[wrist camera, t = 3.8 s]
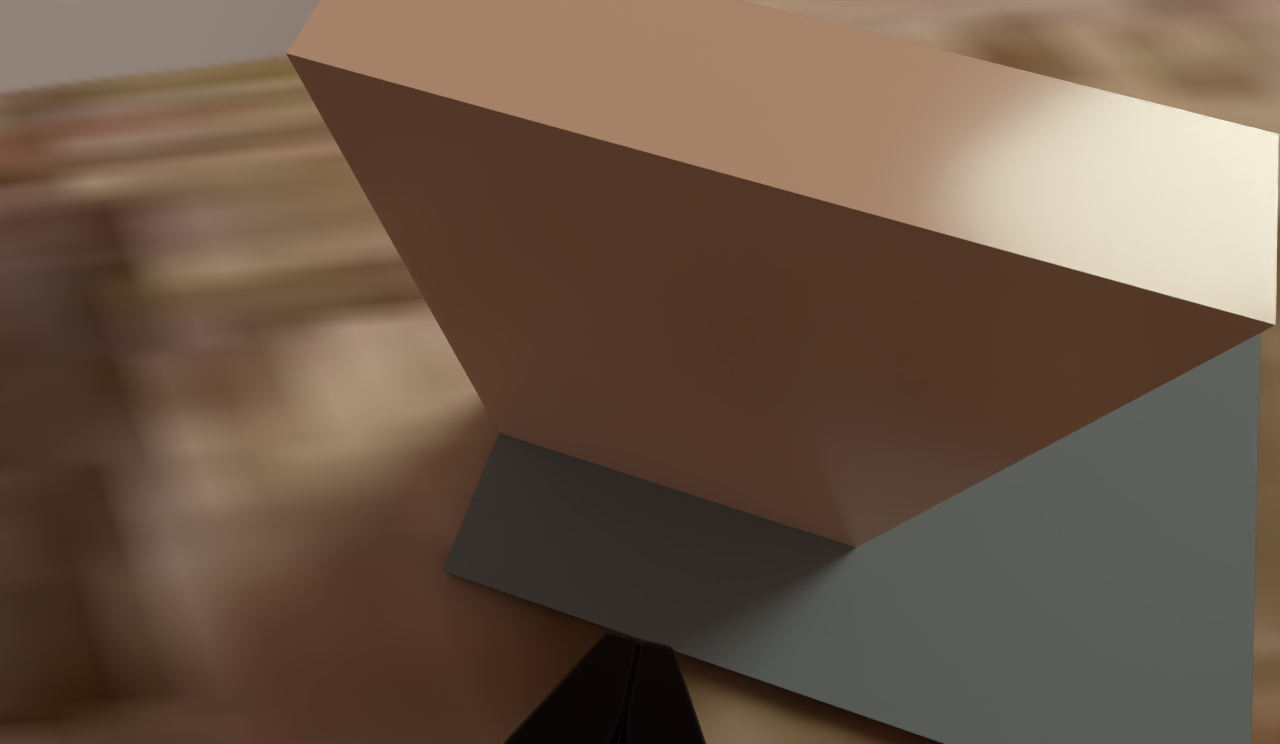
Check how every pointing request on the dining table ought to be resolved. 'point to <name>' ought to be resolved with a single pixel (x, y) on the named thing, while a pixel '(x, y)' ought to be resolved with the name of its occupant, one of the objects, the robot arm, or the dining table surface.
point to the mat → (938, 578)
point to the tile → (788, 240)
